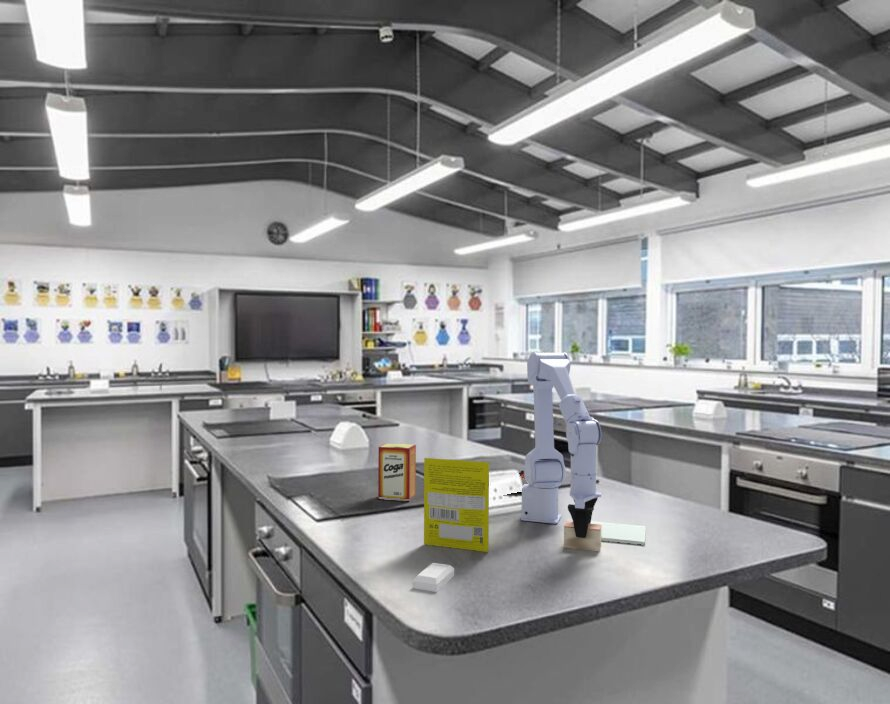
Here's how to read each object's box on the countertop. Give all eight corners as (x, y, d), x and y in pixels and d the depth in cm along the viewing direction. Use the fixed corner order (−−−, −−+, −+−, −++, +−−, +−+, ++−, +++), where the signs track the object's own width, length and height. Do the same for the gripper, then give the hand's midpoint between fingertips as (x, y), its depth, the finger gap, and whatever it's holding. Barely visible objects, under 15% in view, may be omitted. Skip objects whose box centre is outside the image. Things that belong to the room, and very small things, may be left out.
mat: (578, 538, 149) (578, 535, 149) (584, 523, 161) (584, 520, 161) (644, 545, 144) (644, 541, 144) (645, 529, 156) (645, 526, 156)
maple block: (563, 547, 142) (564, 525, 142) (566, 542, 146) (566, 521, 146) (599, 551, 140) (600, 529, 140) (601, 546, 144) (601, 524, 143)
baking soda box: (378, 499, 184) (378, 445, 183) (385, 494, 190) (385, 442, 190) (409, 502, 181) (409, 447, 181) (415, 496, 188) (415, 443, 187)
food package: (489, 551, 139) (489, 462, 139) (487, 553, 138) (488, 462, 138) (424, 543, 144) (425, 457, 144) (423, 545, 143) (423, 458, 143)
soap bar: (412, 590, 118) (412, 576, 118) (431, 573, 127) (431, 560, 127) (436, 594, 116) (436, 580, 116) (454, 577, 125) (454, 564, 125)
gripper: (598, 480, 134) (598, 543, 135) (603, 468, 148) (603, 525, 148) (565, 478, 137) (565, 540, 137) (573, 466, 150) (573, 522, 151)
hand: (582, 532), depth 143 cm, fingers open, 7 cm apart
